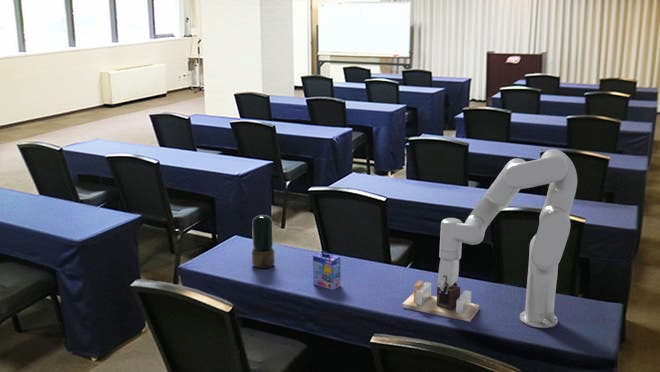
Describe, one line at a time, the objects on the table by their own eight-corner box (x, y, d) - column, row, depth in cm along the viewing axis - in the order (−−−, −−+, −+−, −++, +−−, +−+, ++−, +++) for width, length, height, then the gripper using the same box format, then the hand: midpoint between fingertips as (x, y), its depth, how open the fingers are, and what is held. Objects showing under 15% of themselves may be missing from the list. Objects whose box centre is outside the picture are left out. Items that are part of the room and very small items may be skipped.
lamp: (248, 263, 286) (247, 214, 281) (269, 260, 290) (268, 211, 285) (257, 271, 278) (255, 220, 272) (278, 267, 282) (277, 217, 277)
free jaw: (430, 295, 250) (431, 280, 248) (421, 305, 241) (422, 289, 240) (420, 293, 252) (421, 278, 250) (411, 303, 243) (411, 287, 242)
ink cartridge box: (312, 284, 264) (312, 249, 261) (320, 280, 269) (320, 245, 265) (333, 290, 259) (333, 254, 255) (341, 285, 263) (341, 250, 260)
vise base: (479, 308, 243) (479, 304, 243) (469, 321, 233) (470, 317, 233) (413, 295, 254) (414, 291, 254) (402, 307, 244) (402, 303, 244)
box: (460, 306, 242) (461, 287, 240) (449, 310, 238) (450, 291, 236) (446, 300, 246) (447, 282, 244) (435, 305, 242) (436, 286, 241)
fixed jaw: (470, 304, 243) (471, 291, 242) (462, 314, 235) (463, 301, 233) (464, 303, 244) (464, 290, 243) (455, 313, 236) (456, 300, 235)
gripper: (447, 244, 246) (445, 288, 251) (432, 259, 231) (430, 305, 236) (467, 247, 243) (465, 291, 247) (453, 262, 228) (450, 309, 232)
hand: (448, 298), depth 241 cm, fingers open, 9 cm apart
